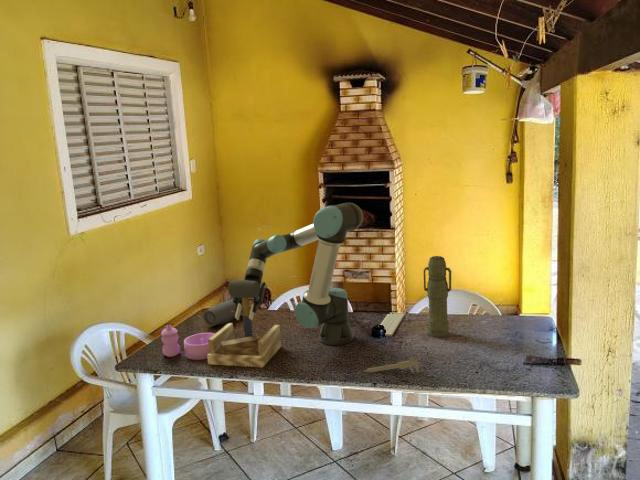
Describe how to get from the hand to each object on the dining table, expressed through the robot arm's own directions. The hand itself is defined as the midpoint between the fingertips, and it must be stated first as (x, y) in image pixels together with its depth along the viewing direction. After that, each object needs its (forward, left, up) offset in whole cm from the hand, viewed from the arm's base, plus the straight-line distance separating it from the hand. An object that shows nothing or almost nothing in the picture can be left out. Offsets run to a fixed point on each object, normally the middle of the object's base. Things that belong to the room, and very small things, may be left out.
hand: (243, 318), depth 233 cm
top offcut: (0, +6, -10) cm, 12 cm away
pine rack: (0, 0, -16) cm, 16 cm away
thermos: (-78, -33, -16) cm, 86 cm away
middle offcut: (0, +6, -13) cm, 15 cm away
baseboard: (-54, -43, -17) cm, 71 cm away
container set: (+25, +2, -16) cm, 30 cm away
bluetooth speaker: (+28, -40, -16) cm, 51 cm away
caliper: (-63, +10, -16) cm, 66 cm away
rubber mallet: (0, -4, -15) cm, 15 cm away
